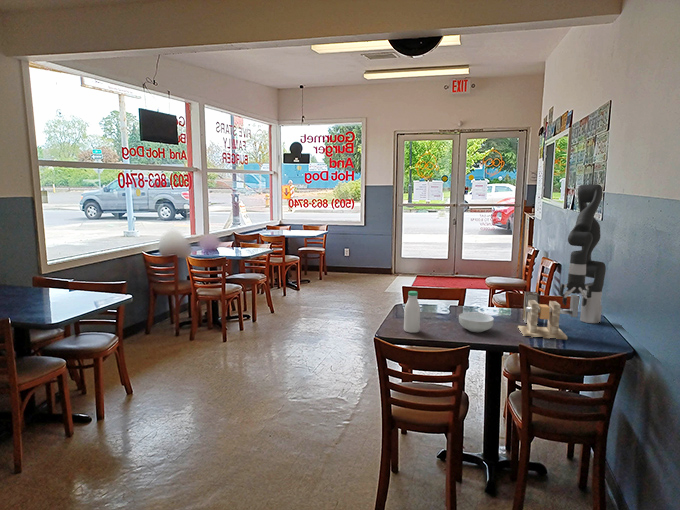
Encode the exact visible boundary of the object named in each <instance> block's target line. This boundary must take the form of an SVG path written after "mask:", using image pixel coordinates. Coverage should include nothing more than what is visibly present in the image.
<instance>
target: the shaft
mask: <svg viewBox="0 0 680 510" xmlns="http://www.w3.org/2000/svg"><path fill="white" fill-rule="evenodd" d="M569 301H570V304H569V308H560V314H561V315H562V314H563V315H569V316H570V317H571V318H578V313H579V312H578V311H579V304H580V303H579V302H580V297H579V296H578V295H577V294H570V300H569ZM526 312H531V307H526ZM538 313H540V308H538ZM549 313H552V308H550V312H549Z"/></svg>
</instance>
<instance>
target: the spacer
mask: <svg viewBox="0 0 680 510" xmlns="http://www.w3.org/2000/svg"><path fill="white" fill-rule="evenodd" d="M539 308H540V313H538V319H540V320H547V321H548V320H549V312H550V307H549V304H541V303H539Z"/></svg>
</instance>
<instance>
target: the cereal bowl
mask: <svg viewBox="0 0 680 510" xmlns="http://www.w3.org/2000/svg"><path fill="white" fill-rule="evenodd" d="M494 320H495V318H494V317H493V316H491V315H489V314H486V313H483V312H475V311H473V312H472V311H467V312H462V313H459V314H458V322H459V324H460V326H462V327H463V328H464V329H466V330H468V331H469V332H471V333H482V332H485V331H488V330H490V329H491V328H492V327H493V326H494Z"/></svg>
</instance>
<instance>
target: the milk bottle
mask: <svg viewBox="0 0 680 510" xmlns="http://www.w3.org/2000/svg"><path fill="white" fill-rule="evenodd" d="M407 295H408V298H407V302H406V304H405V306H404V314H403V315H404V317H403V318H404V319H403V330H404V331H405V332H406V333H412V334H414V333H415V334H416V333H419V332H420V324H421V323H420V322H421V306H420V303H419V301H418V297H419V296H418V291H416V290H410V291H408V294H407Z"/></svg>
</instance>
